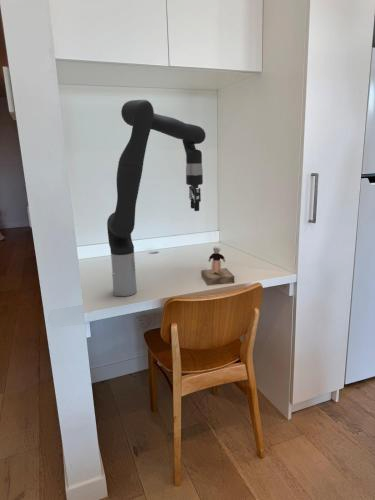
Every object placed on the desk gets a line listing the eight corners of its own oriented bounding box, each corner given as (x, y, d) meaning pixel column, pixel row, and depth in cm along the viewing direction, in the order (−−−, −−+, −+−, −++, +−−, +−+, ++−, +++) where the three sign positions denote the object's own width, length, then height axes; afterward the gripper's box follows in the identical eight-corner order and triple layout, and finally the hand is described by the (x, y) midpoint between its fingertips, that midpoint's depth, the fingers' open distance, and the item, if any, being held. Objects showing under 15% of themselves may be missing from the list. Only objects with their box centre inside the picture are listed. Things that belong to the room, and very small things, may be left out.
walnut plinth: (207, 285, 149) (207, 278, 148) (201, 276, 160) (201, 270, 159) (234, 282, 151) (234, 276, 150) (226, 274, 162) (226, 268, 161)
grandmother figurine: (208, 274, 153) (208, 247, 150) (208, 271, 157) (207, 244, 153) (225, 274, 153) (225, 246, 149) (225, 271, 156) (225, 244, 153)
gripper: (183, 173, 162) (184, 208, 166) (189, 174, 148) (189, 212, 152) (199, 173, 163) (199, 207, 167) (206, 174, 149) (206, 211, 154)
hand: (194, 209), depth 160 cm, fingers open, 8 cm apart
